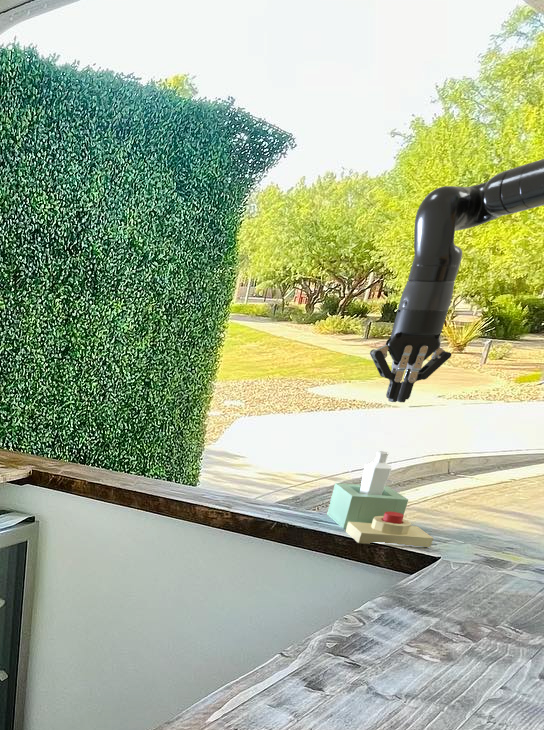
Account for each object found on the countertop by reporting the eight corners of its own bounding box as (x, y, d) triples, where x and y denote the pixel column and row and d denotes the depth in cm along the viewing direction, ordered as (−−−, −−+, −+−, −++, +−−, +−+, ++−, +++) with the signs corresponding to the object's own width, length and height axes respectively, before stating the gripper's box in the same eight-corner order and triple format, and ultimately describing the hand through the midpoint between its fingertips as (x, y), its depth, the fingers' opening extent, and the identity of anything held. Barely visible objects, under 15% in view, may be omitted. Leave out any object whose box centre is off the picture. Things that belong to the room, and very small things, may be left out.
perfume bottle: (348, 518, 160) (368, 448, 155) (373, 522, 158) (394, 451, 153) (349, 524, 157) (369, 453, 151) (374, 528, 155) (396, 456, 149)
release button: (397, 520, 148) (400, 512, 147) (403, 525, 145) (406, 516, 145) (379, 519, 149) (382, 510, 148) (386, 524, 146) (388, 515, 145)
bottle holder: (378, 518, 161) (388, 486, 158) (398, 533, 152) (408, 499, 149) (326, 514, 163) (335, 482, 160) (343, 529, 154) (352, 496, 152)
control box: (413, 536, 150) (419, 517, 149) (430, 549, 144) (436, 529, 142) (345, 531, 153) (350, 512, 151) (358, 543, 147) (363, 523, 145)
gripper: (455, 306, 143) (427, 399, 150) (374, 305, 146) (350, 396, 153) (476, 308, 136) (445, 406, 143) (390, 307, 139) (364, 403, 146)
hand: (396, 401), depth 148 cm, fingers closed
